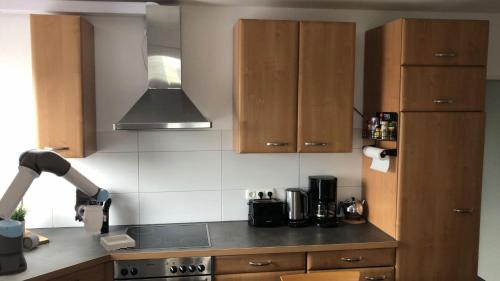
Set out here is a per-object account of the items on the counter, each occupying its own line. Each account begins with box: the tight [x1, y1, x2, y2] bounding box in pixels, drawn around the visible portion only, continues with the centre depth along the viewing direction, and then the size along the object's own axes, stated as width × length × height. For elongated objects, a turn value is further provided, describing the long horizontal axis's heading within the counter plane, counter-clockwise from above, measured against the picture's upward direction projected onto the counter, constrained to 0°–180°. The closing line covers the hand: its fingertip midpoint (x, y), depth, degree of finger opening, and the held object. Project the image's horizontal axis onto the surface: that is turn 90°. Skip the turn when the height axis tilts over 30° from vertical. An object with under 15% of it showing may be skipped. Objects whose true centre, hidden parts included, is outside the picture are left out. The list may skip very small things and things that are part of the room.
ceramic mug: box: [23, 233, 40, 251], centre depth 243 cm, size 11×8×8 cm
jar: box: [83, 204, 104, 236], centre depth 242 cm, size 11×10×15 cm
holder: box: [99, 234, 136, 252], centre depth 252 cm, size 15×16×4 cm
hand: (95, 219), depth 239 cm, fingers closed on jar, 10 cm apart
